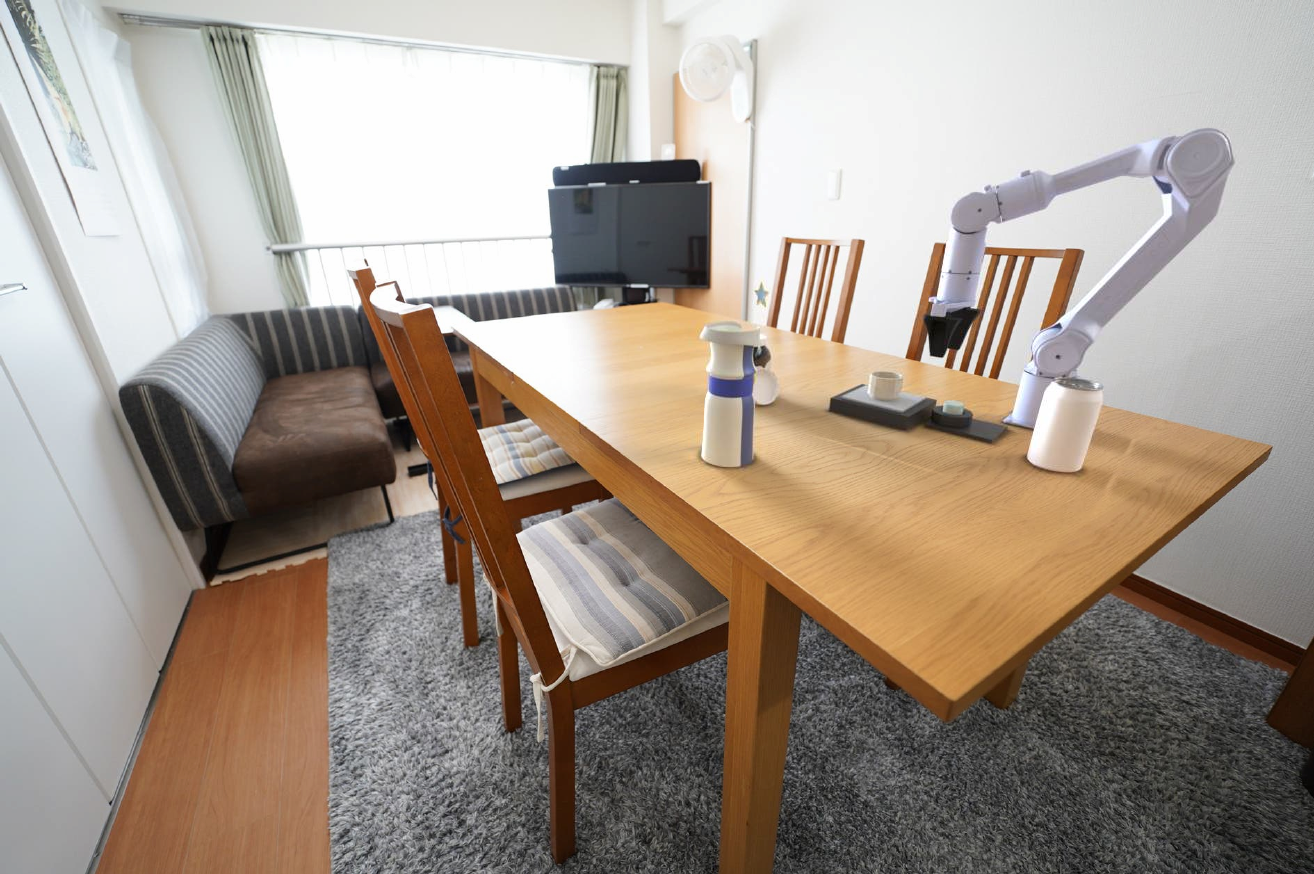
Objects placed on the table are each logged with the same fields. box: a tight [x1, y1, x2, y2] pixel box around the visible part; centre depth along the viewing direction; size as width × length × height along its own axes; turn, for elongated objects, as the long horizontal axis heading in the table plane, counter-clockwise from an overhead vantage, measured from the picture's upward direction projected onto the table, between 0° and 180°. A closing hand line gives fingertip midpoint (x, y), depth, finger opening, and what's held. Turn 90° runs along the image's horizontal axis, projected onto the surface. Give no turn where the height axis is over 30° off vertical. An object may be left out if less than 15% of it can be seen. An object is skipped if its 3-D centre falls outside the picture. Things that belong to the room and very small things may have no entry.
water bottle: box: [699, 281, 770, 468], centre depth 76 cm, size 8×9×25 cm
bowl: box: [868, 370, 904, 401], centre depth 96 cm, size 5×5×4 cm
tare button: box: [942, 399, 965, 415], centre depth 90 cm, size 3×3×2 cm
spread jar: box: [753, 333, 780, 406], centre depth 104 cm, size 12×11×12 cm
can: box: [1026, 378, 1104, 474], centre depth 75 cm, size 6×6×12 cm
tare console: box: [924, 404, 1008, 444], centre depth 90 cm, size 10×8×2 cm
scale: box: [828, 383, 938, 432], centre depth 97 cm, size 14×12×3 cm
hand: (944, 352), depth 95 cm, fingers open, 7 cm apart
